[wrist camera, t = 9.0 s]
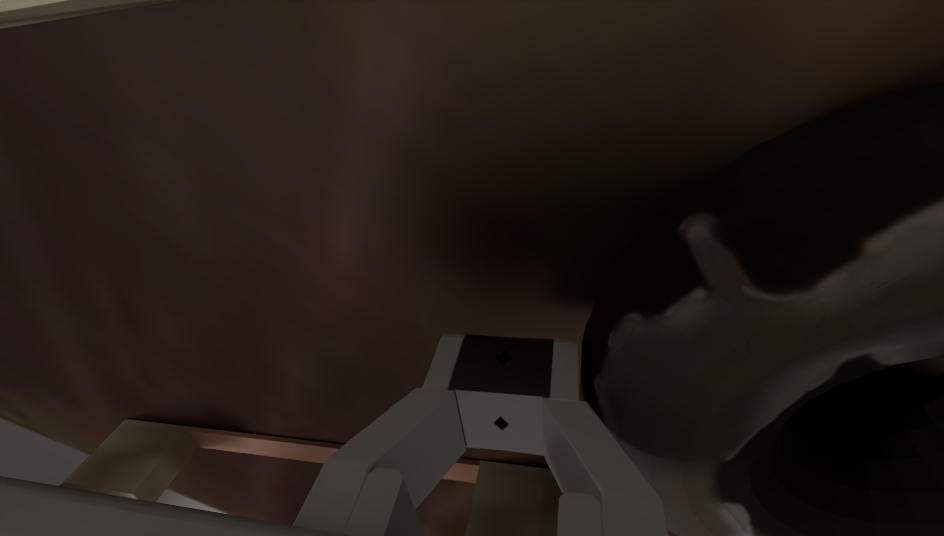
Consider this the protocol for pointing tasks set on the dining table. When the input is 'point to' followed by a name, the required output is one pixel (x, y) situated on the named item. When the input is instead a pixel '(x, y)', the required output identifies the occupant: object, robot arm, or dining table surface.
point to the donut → (786, 333)
